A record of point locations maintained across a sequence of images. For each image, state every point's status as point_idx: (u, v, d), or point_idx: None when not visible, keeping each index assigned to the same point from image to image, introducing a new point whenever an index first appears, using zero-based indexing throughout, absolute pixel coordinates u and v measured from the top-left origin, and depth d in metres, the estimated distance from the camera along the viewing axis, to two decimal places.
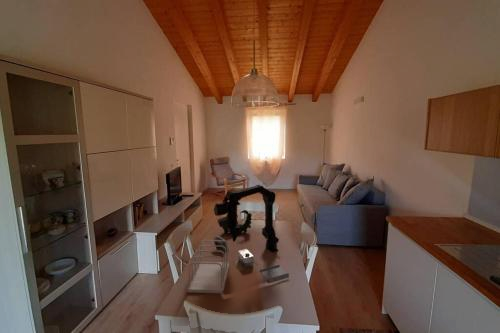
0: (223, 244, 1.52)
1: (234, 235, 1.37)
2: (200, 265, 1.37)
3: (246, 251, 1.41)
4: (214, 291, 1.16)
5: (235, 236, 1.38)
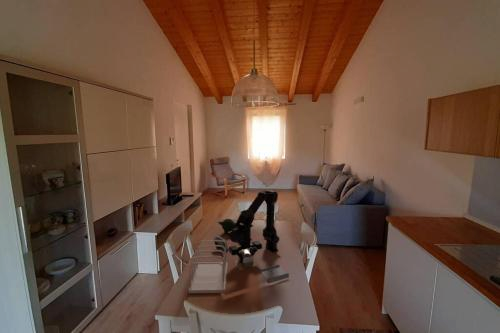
0: (223, 244, 1.52)
1: (239, 256, 1.37)
2: (198, 266, 1.36)
3: (246, 251, 1.41)
4: (215, 291, 1.16)
5: (239, 258, 1.37)
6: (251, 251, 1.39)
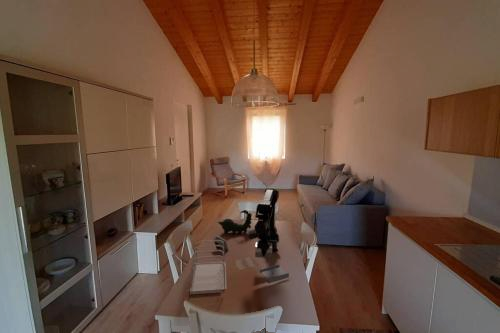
0: None
1: (263, 249, 1.27)
2: (197, 266, 1.36)
3: None
4: (217, 290, 1.16)
5: (264, 251, 1.27)
6: None
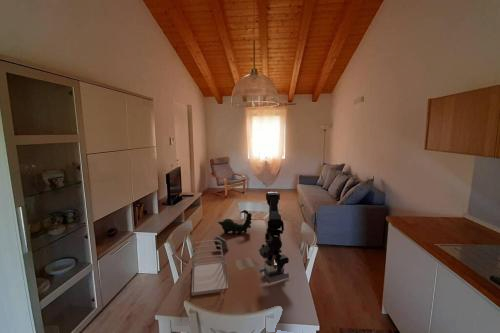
0: (223, 244, 1.52)
1: (280, 266, 1.24)
2: (194, 268, 1.34)
3: (270, 261, 1.30)
4: (219, 290, 1.17)
5: (281, 267, 1.25)
6: None
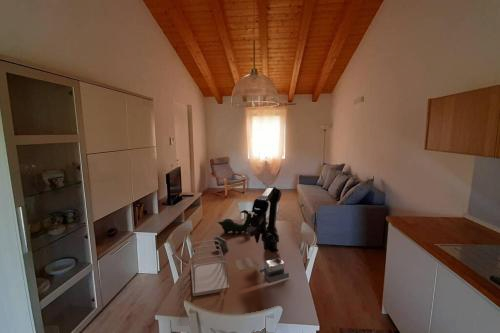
0: (223, 244, 1.52)
1: (266, 243, 1.33)
2: (193, 268, 1.34)
3: (270, 261, 1.30)
4: (220, 290, 1.17)
5: (267, 244, 1.33)
6: None
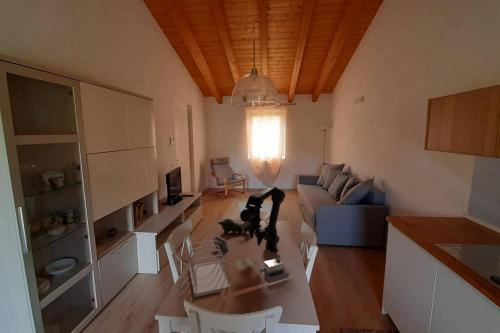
0: (223, 244, 1.52)
1: (259, 239, 1.37)
2: None
3: (270, 261, 1.30)
4: None
5: (260, 240, 1.37)
6: None
